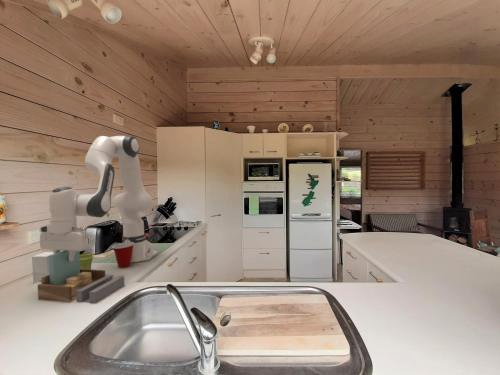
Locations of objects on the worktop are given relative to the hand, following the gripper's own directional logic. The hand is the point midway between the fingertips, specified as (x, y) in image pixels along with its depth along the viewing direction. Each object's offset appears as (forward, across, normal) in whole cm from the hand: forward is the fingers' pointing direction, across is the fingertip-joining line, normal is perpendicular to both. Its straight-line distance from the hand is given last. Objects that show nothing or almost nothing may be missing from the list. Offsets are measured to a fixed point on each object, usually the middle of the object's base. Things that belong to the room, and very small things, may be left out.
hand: (65, 260), depth 106 cm
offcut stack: (+12, -6, 0) cm, 14 cm away
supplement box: (+14, +21, -10) cm, 27 cm away
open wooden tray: (+14, -4, 0) cm, 14 cm away
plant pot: (+14, +11, -20) cm, 27 cm away
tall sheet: (+12, 0, 0) cm, 12 cm away
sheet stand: (+14, -17, 0) cm, 22 cm away
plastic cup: (+14, -1, -34) cm, 37 cm away
